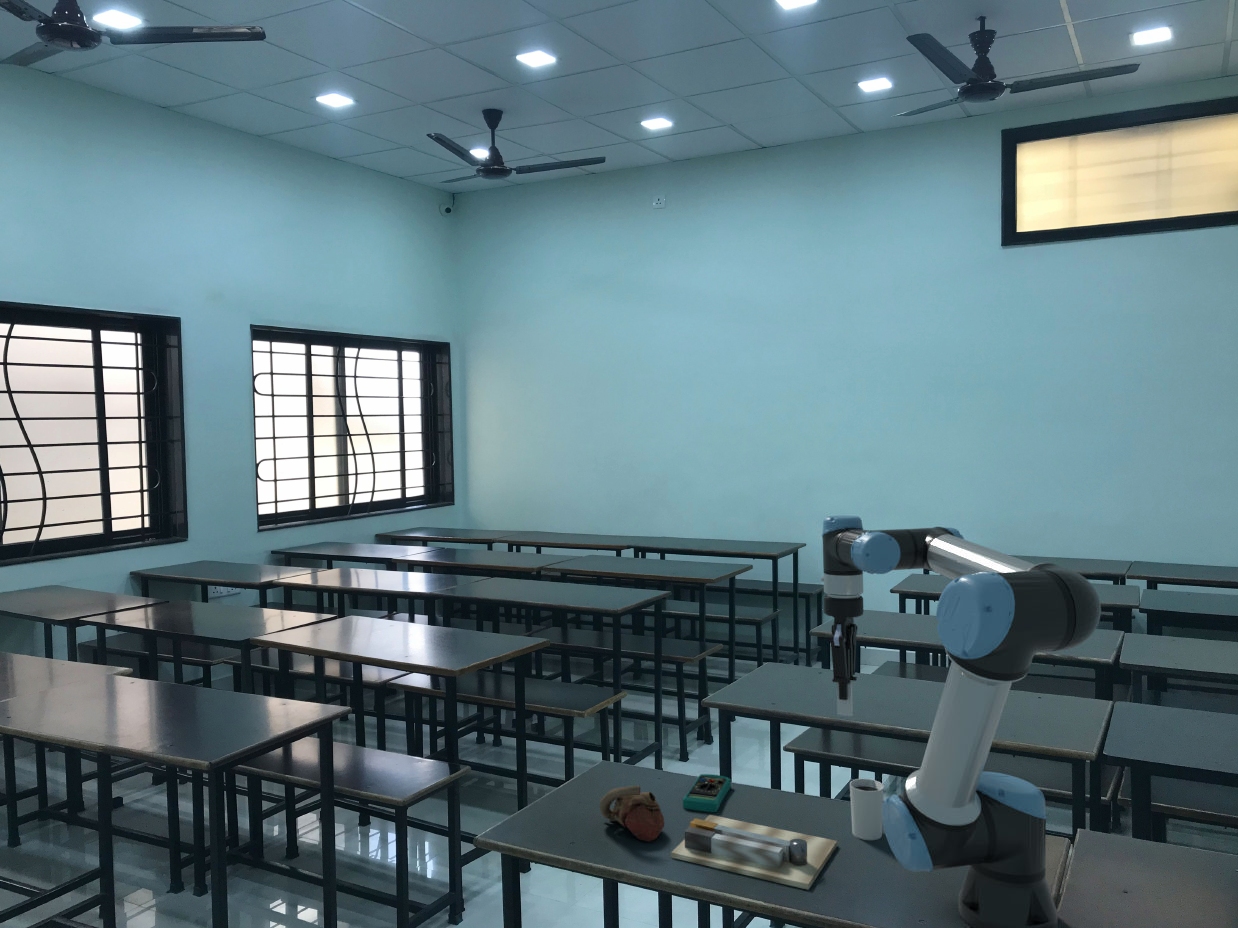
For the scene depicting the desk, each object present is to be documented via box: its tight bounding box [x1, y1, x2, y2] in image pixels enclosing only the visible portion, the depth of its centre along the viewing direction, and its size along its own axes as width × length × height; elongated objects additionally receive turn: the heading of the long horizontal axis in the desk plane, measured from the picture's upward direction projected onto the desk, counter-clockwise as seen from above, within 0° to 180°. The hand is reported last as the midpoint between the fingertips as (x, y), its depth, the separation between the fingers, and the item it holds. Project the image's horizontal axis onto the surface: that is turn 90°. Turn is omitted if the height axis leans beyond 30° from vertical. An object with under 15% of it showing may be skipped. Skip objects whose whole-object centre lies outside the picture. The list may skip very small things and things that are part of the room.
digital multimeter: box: [682, 773, 732, 813], centre depth 201 cm, size 8×16×3 cm, turn 161°
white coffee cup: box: [849, 778, 885, 841], centre depth 181 cm, size 7×7×10 cm
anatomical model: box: [599, 785, 665, 843], centre depth 184 cm, size 13×9×15 cm
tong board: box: [670, 814, 838, 890], centre depth 174 cm, size 27×19×4 cm
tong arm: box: [689, 818, 807, 866], centre depth 173 cm, size 24×3×4 cm, turn 59°
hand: (845, 714), depth 176 cm, fingers closed
